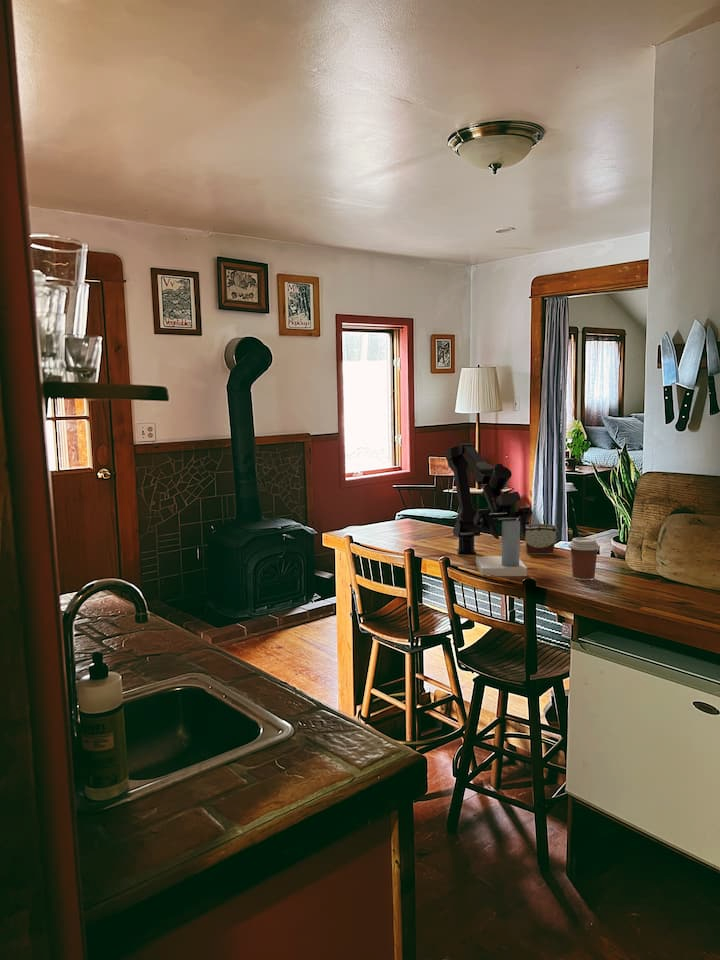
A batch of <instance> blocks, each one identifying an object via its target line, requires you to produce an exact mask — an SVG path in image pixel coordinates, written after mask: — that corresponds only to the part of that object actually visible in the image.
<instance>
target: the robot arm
mask: <svg viewBox="0 0 720 960" xmlns="http://www.w3.org/2000/svg"><path fill="white" fill-rule="evenodd" d="M445 459H446V460H445V461H446V462H447V466H448V467H449V469H450V470H451V471H452V472H453V476H454V482H455V489H456V495H457V501H458V502H457V503H458V509H459V510H458V513H457V515H456V516H455V518H456V522H455V523H454V527H453V528H452V535H453V536H454V537H457V538H458V548H457V549H456V552H457V554H459V555H466V554H467V555H468V554H469V555H470V554H473V555H476V554H477V551H476V548H475V537H480V536H481V530H482V529H483V530H485V531H486V532H488V533H489V534H490V535H491V536H493V537H494V538H495V539H496V540H499V539H500V535H499V533H498V531H497V527H496V525H495V523H494V520H518V521H520V536H521V537H522V538H525V536H526V528H525V525H527V524H526V523H528V521H529V520H530V519H531V516H532V515H533V513H534V512H533V510H532V508H531V507H530V506H519V507H518V508H517V509H516V511H511V510H513V508H514V506H513V505H515V504H517V503H518V502H520V501H521V494H520V492H519V491H513V492H508V493H507V492H505V493H504V492H503V490H504V489H506V487H507V485H508V483H509V481H510V479H511V477H512V471H511V470H510V469H509V468H508V467H507V466H503V463H496V464H495V466H494V465H493V464H490V463H488V462H486V461H485V460H484V459H483V457H482V456H481V454H480V453H479V452H478V450H477V449H476V447H475V444H473V443H461V444H459V445H457V446H454V447H449V448H448V449H447V450H446V452H445ZM468 467H470V468H471V470H472V471H473V473H474V474H473V479H474V481H475V483H476V484H477V485H478V486H484V487H483V489H482V492H481V496H482V497H485V498H486V502H487V503H488V505H487V508H483V509H482V508H481V509H480V508H479V509H475V508H474V507H473V500H472V493H471V486H470V483H469V482H470V481H469V477H468Z"/></svg>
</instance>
